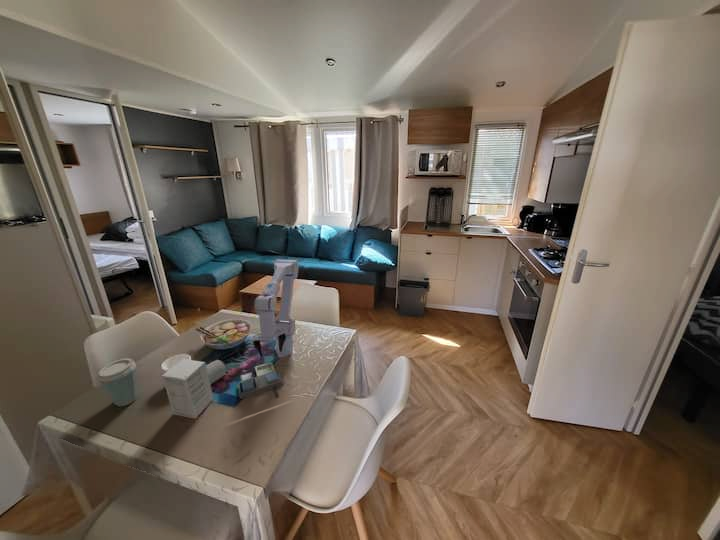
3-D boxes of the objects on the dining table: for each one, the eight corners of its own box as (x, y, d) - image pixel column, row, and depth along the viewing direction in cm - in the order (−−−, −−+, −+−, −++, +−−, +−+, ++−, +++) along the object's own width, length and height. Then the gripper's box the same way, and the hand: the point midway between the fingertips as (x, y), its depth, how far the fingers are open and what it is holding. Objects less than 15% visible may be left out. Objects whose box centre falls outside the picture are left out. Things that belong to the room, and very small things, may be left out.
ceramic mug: (229, 376, 114) (226, 360, 111) (211, 389, 107) (207, 372, 104) (212, 368, 118) (209, 353, 116) (194, 380, 112) (190, 364, 109)
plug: (242, 388, 107) (240, 375, 105) (253, 384, 109) (251, 371, 107) (243, 395, 104) (241, 381, 102) (254, 391, 105) (252, 378, 103)
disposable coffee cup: (105, 415, 95) (91, 380, 90) (111, 395, 103) (98, 362, 98) (143, 403, 100) (132, 369, 95) (146, 384, 109) (136, 352, 104)
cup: (163, 381, 111) (157, 362, 108) (190, 368, 118) (186, 350, 114) (170, 394, 104) (164, 374, 101) (199, 380, 111) (194, 361, 108)
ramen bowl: (265, 340, 138) (263, 326, 135) (222, 365, 120) (219, 350, 117) (234, 325, 151) (232, 312, 148) (191, 346, 132) (188, 332, 130)
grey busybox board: (238, 387, 108) (237, 381, 107) (279, 374, 115) (278, 368, 114) (241, 411, 97) (240, 404, 96) (286, 395, 105) (286, 388, 103)
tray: (255, 370, 117) (254, 366, 117) (272, 365, 120) (271, 361, 120) (258, 380, 112) (257, 377, 111) (275, 375, 115) (275, 371, 114)
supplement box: (214, 399, 102) (206, 361, 97) (195, 419, 94) (185, 379, 88) (192, 394, 104) (183, 357, 99) (172, 414, 96) (160, 375, 90)
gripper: (249, 333, 102) (253, 364, 106) (288, 324, 108) (291, 353, 113) (247, 324, 107) (251, 353, 112) (284, 316, 114) (286, 344, 118)
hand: (271, 353), depth 113 cm, fingers open, 7 cm apart
